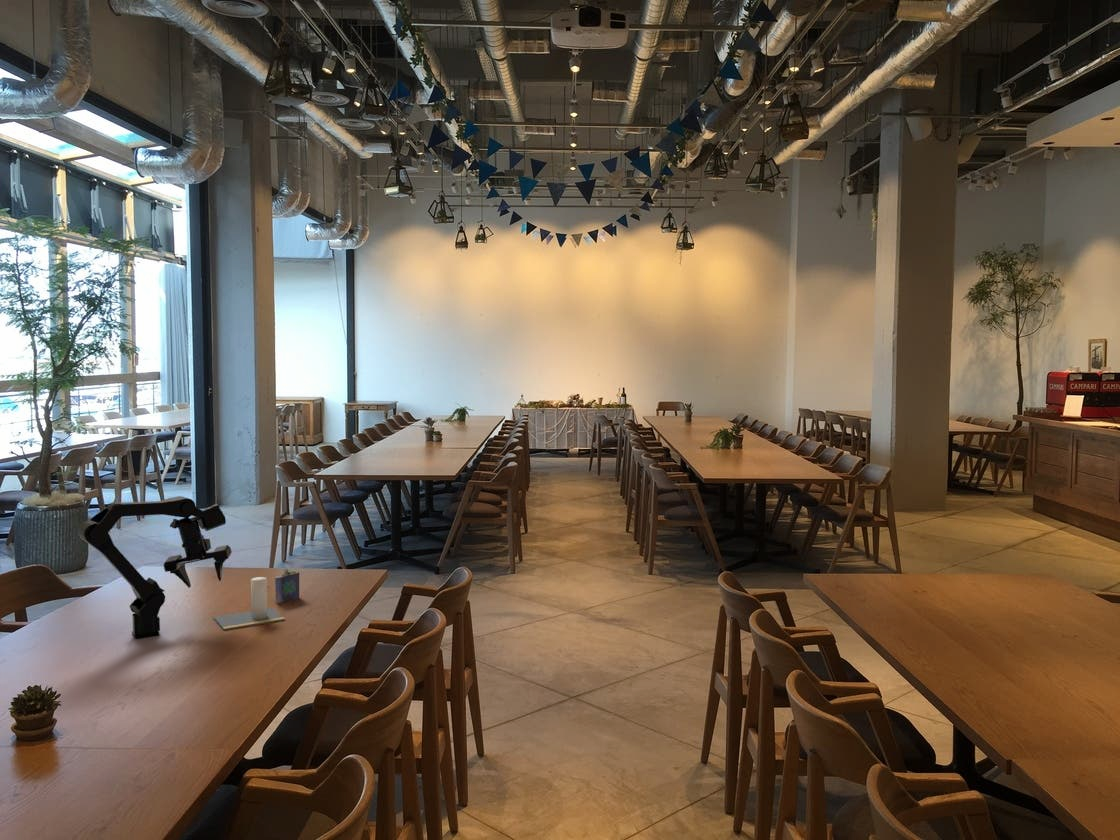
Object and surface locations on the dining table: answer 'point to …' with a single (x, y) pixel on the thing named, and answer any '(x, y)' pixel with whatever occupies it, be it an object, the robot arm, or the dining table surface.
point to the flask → (287, 587)
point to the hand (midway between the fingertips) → (205, 583)
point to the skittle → (259, 597)
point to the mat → (246, 619)
